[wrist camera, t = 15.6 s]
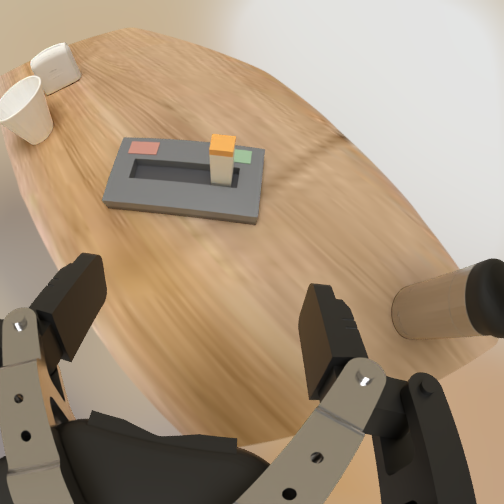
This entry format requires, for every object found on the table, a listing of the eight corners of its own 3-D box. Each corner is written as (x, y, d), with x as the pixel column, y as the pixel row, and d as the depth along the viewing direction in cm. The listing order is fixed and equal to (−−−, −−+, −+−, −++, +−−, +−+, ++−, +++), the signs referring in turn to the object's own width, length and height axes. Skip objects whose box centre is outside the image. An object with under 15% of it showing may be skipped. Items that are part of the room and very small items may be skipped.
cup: (36, 112, 47) (14, 78, 35) (72, 110, 47) (51, 71, 36) (12, 154, 44) (-16, 123, 32) (46, 155, 44) (18, 119, 32)
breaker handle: (232, 175, 45) (235, 136, 35) (230, 189, 44) (233, 152, 34) (213, 173, 44) (212, 133, 35) (211, 187, 44) (209, 149, 34)
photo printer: (45, 98, 48) (25, 64, 36) (46, 88, 49) (28, 55, 37) (81, 80, 50) (65, 43, 38) (81, 71, 51) (67, 35, 39)
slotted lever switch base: (262, 159, 47) (265, 148, 44) (255, 224, 44) (258, 217, 41) (127, 147, 46) (123, 136, 43) (108, 208, 43) (101, 199, 40)
